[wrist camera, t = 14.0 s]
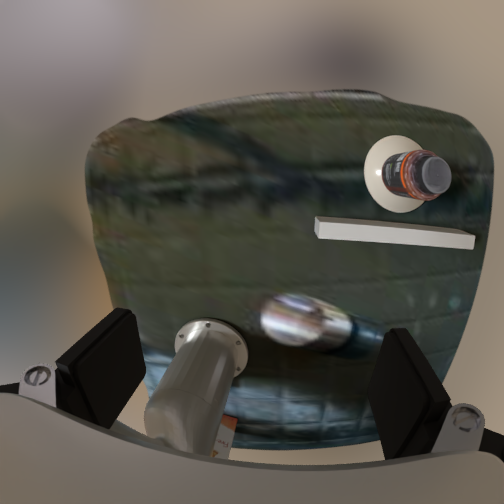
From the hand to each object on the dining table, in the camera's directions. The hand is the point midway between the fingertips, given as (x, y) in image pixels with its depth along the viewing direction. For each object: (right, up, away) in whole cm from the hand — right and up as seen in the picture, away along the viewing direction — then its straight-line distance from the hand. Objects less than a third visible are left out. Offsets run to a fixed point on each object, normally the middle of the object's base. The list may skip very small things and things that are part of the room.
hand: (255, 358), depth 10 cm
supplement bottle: (+20, +15, +25) cm, 35 cm away
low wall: (+20, +7, +27) cm, 35 cm away
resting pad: (+21, +15, +25) cm, 36 cm away
